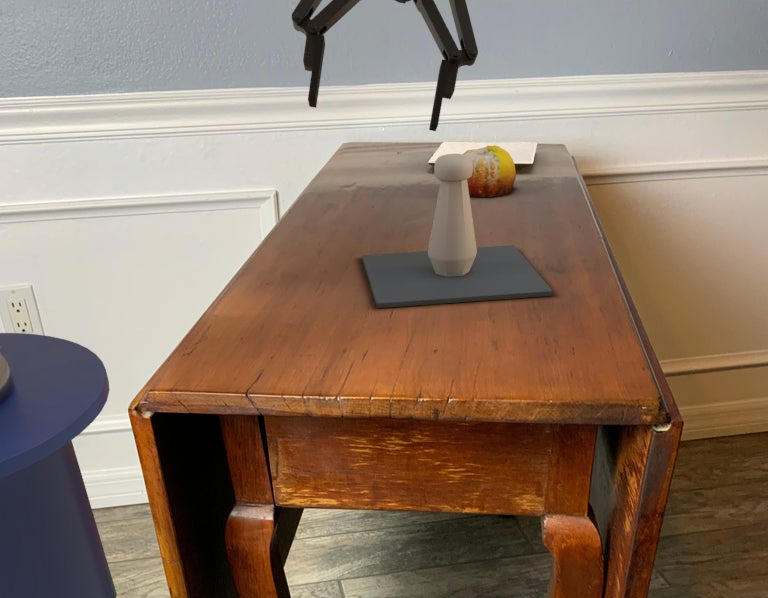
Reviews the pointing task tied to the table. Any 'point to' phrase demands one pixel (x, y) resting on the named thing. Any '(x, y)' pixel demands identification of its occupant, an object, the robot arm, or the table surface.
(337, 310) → the table surface
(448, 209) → the salt shaker
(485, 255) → the center mat
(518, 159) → the plate
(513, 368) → the table surface
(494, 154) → the fruit
